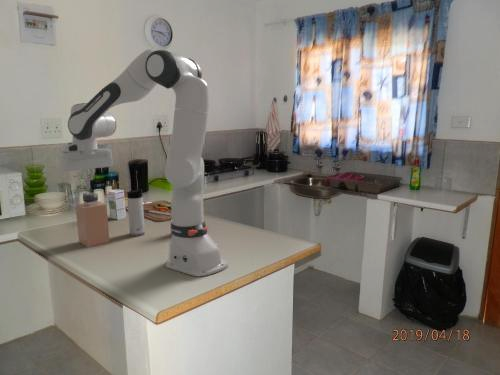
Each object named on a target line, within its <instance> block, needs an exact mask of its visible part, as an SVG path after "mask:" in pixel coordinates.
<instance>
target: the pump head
mask: <svg viewBox="0 0 500 375" xmlns="http://www.w3.org/2000/svg"><path fill="white" fill-rule="evenodd" d="M95 200H98V201H99V196H98V193H87V192H85V193H82V201H83V202H84V201H89V202H91V201H95Z"/></svg>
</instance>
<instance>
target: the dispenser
mask: <svg viewBox="0 0 500 375" xmlns="http://www.w3.org/2000/svg"><path fill="white" fill-rule="evenodd" d="M75 213H76V222H77V223H76V224H77V234H78V243H79V244H81V245H83V246H85V247H87V248H91V247H94V246H99V245H102V244H106V243H107V244H108V243H110V242H111V240H110V232H109V231H110V229H109V219H108V218H109V217H108V205H107V203H104V202H101V201H99V199H98V200H95V201H91V202H89V201H83V202H82V203H76V204H75Z"/></svg>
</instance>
